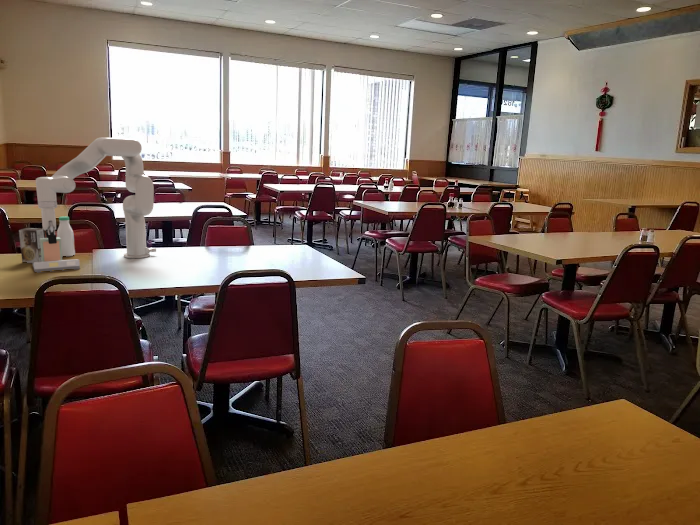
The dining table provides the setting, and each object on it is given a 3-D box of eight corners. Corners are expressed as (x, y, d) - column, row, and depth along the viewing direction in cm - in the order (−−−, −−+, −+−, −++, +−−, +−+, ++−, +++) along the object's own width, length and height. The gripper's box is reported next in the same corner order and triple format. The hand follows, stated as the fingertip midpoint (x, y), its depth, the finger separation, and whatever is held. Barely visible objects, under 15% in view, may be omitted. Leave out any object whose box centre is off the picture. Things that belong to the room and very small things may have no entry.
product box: (42, 263, 251) (39, 238, 249) (61, 262, 256) (59, 237, 253) (43, 265, 247) (40, 239, 245) (62, 264, 251) (60, 238, 249)
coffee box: (48, 261, 265) (45, 228, 262) (39, 263, 259) (36, 230, 255) (30, 260, 266) (27, 227, 262) (21, 262, 259) (18, 229, 256)
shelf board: (75, 262, 263) (74, 253, 262) (79, 269, 251) (79, 259, 250) (32, 266, 253) (31, 256, 252) (35, 272, 241) (34, 262, 240)
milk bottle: (74, 256, 277) (71, 217, 273) (57, 257, 274) (54, 217, 270) (75, 253, 284) (73, 215, 280) (59, 254, 281) (56, 216, 277)
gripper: (36, 203, 251) (40, 239, 255) (39, 207, 237) (44, 245, 240) (55, 202, 255) (58, 238, 259) (59, 206, 241) (63, 244, 245)
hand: (51, 241), depth 250 cm, fingers open, 9 cm apart
